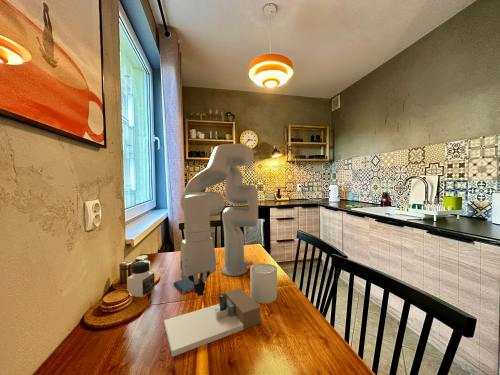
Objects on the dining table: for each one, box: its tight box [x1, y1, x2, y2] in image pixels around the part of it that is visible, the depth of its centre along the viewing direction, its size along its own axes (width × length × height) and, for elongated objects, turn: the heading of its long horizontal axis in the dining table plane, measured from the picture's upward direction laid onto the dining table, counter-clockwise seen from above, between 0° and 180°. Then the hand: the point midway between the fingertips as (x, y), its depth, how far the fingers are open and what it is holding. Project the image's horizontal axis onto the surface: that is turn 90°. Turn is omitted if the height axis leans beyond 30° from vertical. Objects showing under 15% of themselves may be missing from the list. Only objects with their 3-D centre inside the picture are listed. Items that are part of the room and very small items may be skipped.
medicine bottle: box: [126, 260, 156, 298], centre depth 86 cm, size 7×7×12 cm
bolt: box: [214, 293, 235, 319], centre depth 70 cm, size 12×2×6 cm, turn 119°
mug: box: [249, 263, 278, 304], centre depth 84 cm, size 14×10×11 cm
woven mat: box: [172, 278, 199, 295], centre depth 92 cm, size 10×11×2 cm
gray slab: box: [163, 287, 261, 358], centre depth 66 cm, size 26×14×5 cm, turn 119°
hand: (199, 293), depth 67 cm, fingers closed
